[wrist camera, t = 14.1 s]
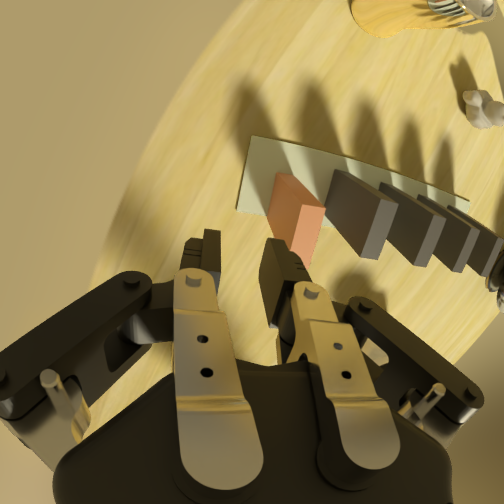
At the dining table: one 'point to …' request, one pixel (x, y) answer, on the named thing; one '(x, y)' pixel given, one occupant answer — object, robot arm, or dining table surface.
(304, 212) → the domino
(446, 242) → the domino
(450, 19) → the beer glass
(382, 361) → the medicine bottle
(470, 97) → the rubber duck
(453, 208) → the domino
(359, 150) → the dining table surface
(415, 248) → the domino
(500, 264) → the apothecary jar
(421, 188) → the mat
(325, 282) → the dining table surface
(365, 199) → the domino
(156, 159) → the dining table surface
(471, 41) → the dining table surface
